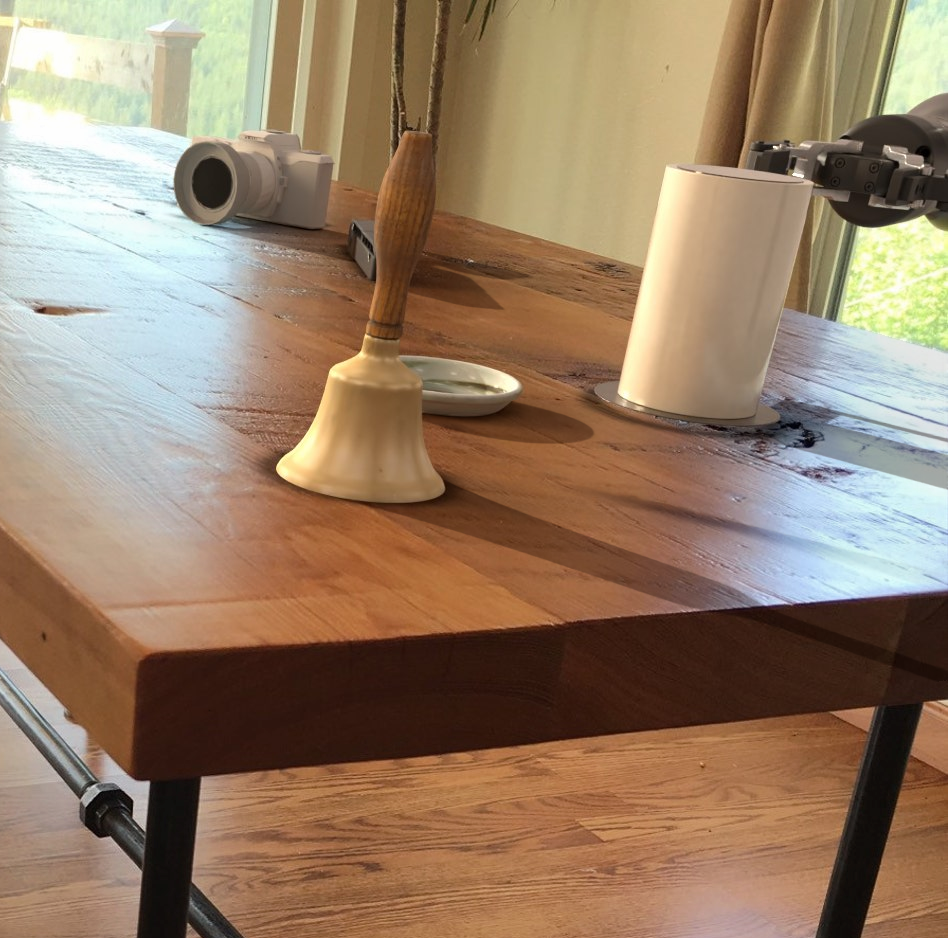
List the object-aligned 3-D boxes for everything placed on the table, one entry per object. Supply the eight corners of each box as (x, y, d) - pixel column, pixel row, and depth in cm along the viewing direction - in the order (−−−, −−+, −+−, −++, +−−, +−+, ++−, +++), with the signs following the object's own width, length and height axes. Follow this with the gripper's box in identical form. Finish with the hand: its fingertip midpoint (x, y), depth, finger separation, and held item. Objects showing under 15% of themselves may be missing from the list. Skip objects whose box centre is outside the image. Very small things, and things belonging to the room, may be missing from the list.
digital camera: (128, 247, 166) (118, 141, 163) (227, 237, 175) (220, 136, 172) (244, 236, 154) (236, 121, 151) (345, 226, 163) (339, 117, 160)
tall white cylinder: (729, 426, 94) (788, 185, 89) (595, 396, 98) (644, 164, 93) (797, 397, 104) (854, 178, 98) (672, 371, 108) (721, 159, 102)
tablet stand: (345, 250, 152) (349, 216, 151) (373, 252, 152) (378, 218, 151) (368, 282, 136) (374, 245, 135) (399, 285, 136) (405, 247, 135)
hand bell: (379, 456, 85) (430, 124, 78) (480, 504, 78) (545, 147, 71) (242, 464, 81) (282, 116, 74) (336, 515, 75) (390, 139, 68)
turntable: (773, 413, 103) (777, 398, 103) (780, 452, 94) (784, 435, 93) (595, 387, 106) (598, 371, 105) (585, 422, 96) (588, 405, 96)
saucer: (317, 395, 97) (323, 353, 95) (460, 395, 100) (466, 354, 99) (396, 439, 89) (403, 394, 88) (548, 437, 92) (556, 394, 91)
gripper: (810, 101, 121) (736, 102, 109) (1015, 127, 114) (959, 131, 102) (783, 208, 125) (708, 220, 113) (980, 240, 118) (923, 256, 106)
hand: (828, 178), depth 108 cm, fingers open, 8 cm apart
